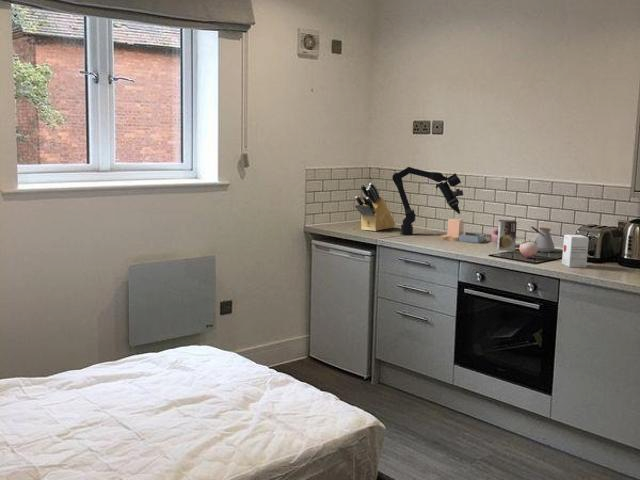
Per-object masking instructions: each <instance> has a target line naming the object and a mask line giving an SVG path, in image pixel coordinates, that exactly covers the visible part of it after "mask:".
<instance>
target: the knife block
mask: <svg viewBox="0 0 640 480" xmlns="http://www.w3.org/2000/svg"><path fill="white" fill-rule="evenodd" d="M360 188H361V190H362V192H363V194H364V196H365V197H364V196H360V197H359V196H358V195H356V196H355V199H356V202H357V203H358V205H357V204H355V208H356V209H357V211H358V212H359V214H360V215H361V216H360V217H361V218H360V220H361V221H360V222H361V223H360V228H361V230H362V231H373V232H377V231H381V230H382V231H383V230H387V229H392V228H394V227H395V225H396V223H395V220H394V218H393V216H392V214H391V212H390V210H389V208H388V206H387V204H386V200H384V197H383V196H380V194H379V191H378V189H377V186H375V184H374V183H373V182H370V183H369V184H368V186H367V187H366V186H365V185H364V184H362V185H360ZM362 199H363V200H362Z"/></svg>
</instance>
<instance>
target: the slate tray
mask: <svg viewBox="0 0 640 480" xmlns="http://www.w3.org/2000/svg"><path fill="white" fill-rule="evenodd" d="M485 241H486V233H479V232H477V233H476V232H468V231H466V232H465V234H462V235H459V241H458V242H460V243H469V244H470V243H472V244H481V243H483V242H485Z"/></svg>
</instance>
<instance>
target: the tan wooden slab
mask: <svg viewBox="0 0 640 480" xmlns="http://www.w3.org/2000/svg"><path fill="white" fill-rule="evenodd" d="M438 240H439V241H440V240H442V241H449V242H451V241H452V242H459V237H451V236H447V233H443V234H441V235H439V236H438Z"/></svg>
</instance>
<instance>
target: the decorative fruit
mask: <svg viewBox="0 0 640 480" xmlns="http://www.w3.org/2000/svg"><path fill="white" fill-rule="evenodd" d="M534 242H535V240H531V239H529V240H523V241H521V242H520V245H519V252H520V253H521V255H522V256H524V257H525V258H526V257H527V258H526V259H530V258H532V257H534V256H535V255H536V254H537V253H538V252H537V251H538V246H537V245H536V244H537V243H536V242H535V243H534Z"/></svg>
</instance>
